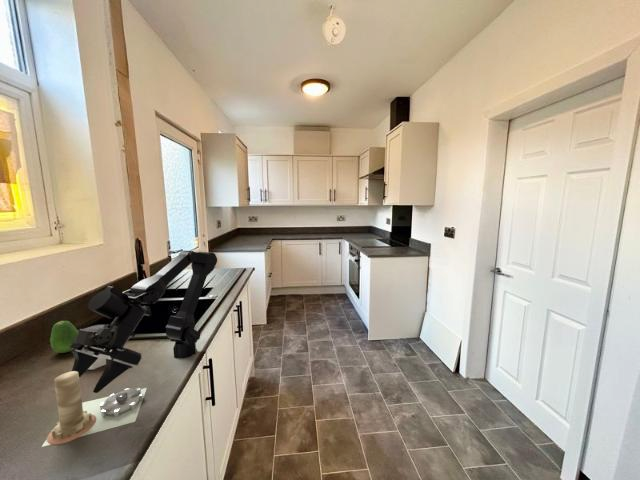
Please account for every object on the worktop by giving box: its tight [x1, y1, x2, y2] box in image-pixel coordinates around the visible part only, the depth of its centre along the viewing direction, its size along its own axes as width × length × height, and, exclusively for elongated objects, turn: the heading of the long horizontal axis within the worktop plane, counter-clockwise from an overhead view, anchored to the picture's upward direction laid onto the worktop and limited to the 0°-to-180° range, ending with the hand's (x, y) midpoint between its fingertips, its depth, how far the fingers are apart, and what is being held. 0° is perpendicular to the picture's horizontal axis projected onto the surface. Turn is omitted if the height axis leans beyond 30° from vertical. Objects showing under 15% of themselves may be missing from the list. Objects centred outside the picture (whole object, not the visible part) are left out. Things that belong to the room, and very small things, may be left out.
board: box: [41, 387, 148, 448], centre depth 65 cm, size 17×14×1 cm
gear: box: [100, 387, 144, 418], centre depth 68 cm, size 9×9×2 cm
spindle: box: [51, 370, 92, 441], centre depth 60 cm, size 7×7×13 cm
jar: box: [77, 324, 113, 371], centre depth 88 cm, size 9×8×12 cm
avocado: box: [49, 320, 79, 354], centre depth 95 cm, size 8×8×12 cm
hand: (82, 388), depth 62 cm, fingers open, 9 cm apart
